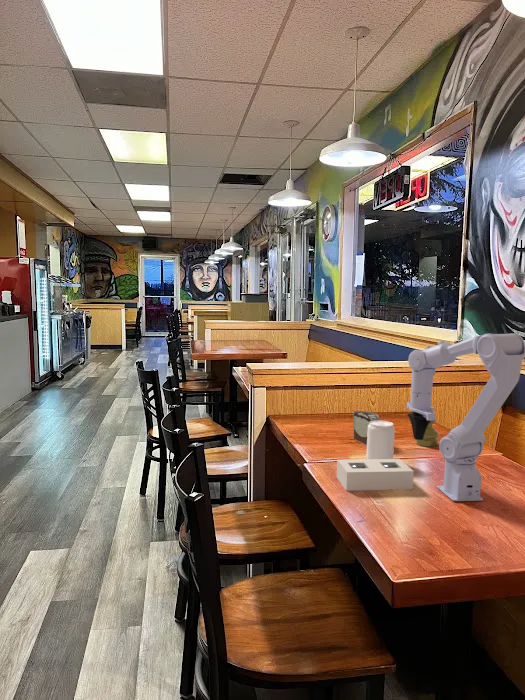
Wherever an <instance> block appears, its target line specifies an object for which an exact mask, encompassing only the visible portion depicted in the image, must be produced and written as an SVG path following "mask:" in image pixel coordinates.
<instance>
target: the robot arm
mask: <svg viewBox="0 0 525 700" xmlns="http://www.w3.org/2000/svg"><path fill="white" fill-rule="evenodd" d="M470 354H475V355H478V356H479V358H480V360H481V361H482V362H481V363H482V364H483V365H484V368H485V369H486V370H487V372H488V374H489V375H490V378H489V379H488V380H487V382H486V384H485V385H484V386H483V389H482V390H481V392H480V393H479V395H478V397H477V398H476V400H475V401H474V403H473V405H472V406H471V408H470V409H469V411H468V413H467V414H466V416H465V417H464V419H463V420H462V422H461V423H460V424H459V425H457V426H456V427H454V428H452V429H451V430H449V433H448V434H447V435H444V436H443V437H441V439H440V441H439V443H438V447H439V452H440V454H441V455H442V457H443V460H445V461H444V472H443V475H444V476H443V484H441V485H437V486H436V488H437V489H438V490H439V491H441V492H442V493H443V494H444V495H446V496H447V497H448V498H449V499H451V501H453V502H476V501H478V502H479V501H482V502H483V500H484V498H483V497H481V487H482V475H481V472H480V471H479V469H477V467H476V461H478V457H479V456H480V455H481V454H483V453H482V452H483V451H484V444H485V442H486V440H487V438H486V436H485V434H484V433H485V431H486V430H487V428H488V427H489V425H491V423H492V421H493V419H495V417H496V416H497V414H498V412H499V411H500V409H501V408H502V406H504V405H503V404H504V403H505V402H506V400H507V399H508V397H509V395H510V394H511V393H512V391H513V390H514V389H515V387H516V385H518V382H519V381H520V376H521V370H522V364H523V361H524V359H525V340H524V338H523V337H522V336H521V335H520V334H518V333H515V332H514V333H513V332H512V333H511V332H510V333H499V334H498V333H484V334H479V335H475V336H473V337H469V338H467V339H464V340H462V341H460V342H456V343H454V344H452V343H450V342H447V341H446V342H445V341H438V342H437V344H436V345H434V346H429V345H428V346H425V348H424V349H421V350H420V349H414V350H413V351H411V352H410V353H409V355H408V358H407V359H408V362H407V363H408V366H409V368H410V369H411V383H410V401H406V409H407V410H409V411H412V412H410V413H407V418H409V421H410V424H411V428H412V435H413V436H412V437H413V439H414V440H415V441H416V440H423V437H424V434H425V431H426V428H427V426H428V424H429V423H430V422H431V421H435V419H436V413H435V412H434V411H435V410H436V408H435V406H434V407H433V406H432V399H433V386H434V385H433V384H434V383H433V382H434V376H435V375H436V371H437V368H439V367H440V368H441V367H443V366H448V365H451V364H453V363H454V362H456V360H457V358H458V357H461V356H466V355H470Z"/></svg>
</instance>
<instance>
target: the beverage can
mask: <svg viewBox="0 0 525 700" xmlns="http://www.w3.org/2000/svg"><path fill="white" fill-rule="evenodd" d="M395 429H396V428H395V426H394V423H393V422H391V421H387V420H381V419H380V420H374V421H370V424H369V425H368V432H367V446H366V453H365V455H366V458H365V459H394V454H395V453H394V452H395V451H394V450H395V449H394V448H395V436H396V435H395V433H396V430H395Z"/></svg>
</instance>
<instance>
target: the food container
mask: <svg viewBox="0 0 525 700" xmlns="http://www.w3.org/2000/svg"><path fill="white" fill-rule="evenodd" d="M352 418H353V419H352V420H353V440H354V439H355V440H354V441H356V440H357V441H356V442H358V441H359V442H358V443H360V442H361V443H360V444H362V445H364V446H366V447H367V432H368V425H369V424H370V421H374V420H381V419H380V416H379V414H377V413H375V412H371V411H365V410H363V411H362V410H353V411H352Z"/></svg>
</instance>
